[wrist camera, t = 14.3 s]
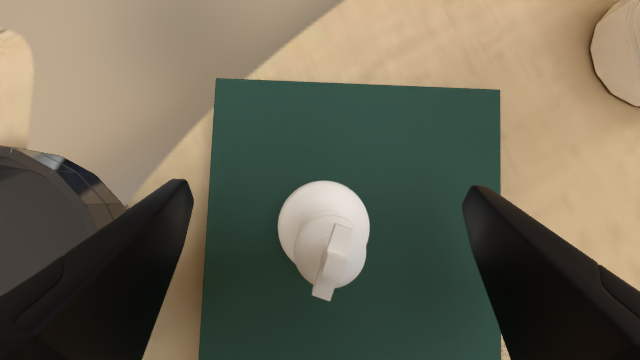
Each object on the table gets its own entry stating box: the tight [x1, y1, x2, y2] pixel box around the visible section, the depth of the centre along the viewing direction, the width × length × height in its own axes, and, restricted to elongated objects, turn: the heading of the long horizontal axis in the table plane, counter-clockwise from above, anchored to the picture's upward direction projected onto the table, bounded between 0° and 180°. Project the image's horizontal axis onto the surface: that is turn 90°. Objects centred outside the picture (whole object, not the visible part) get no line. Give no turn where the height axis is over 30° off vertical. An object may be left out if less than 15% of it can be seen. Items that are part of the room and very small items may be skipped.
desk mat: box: [199, 78, 501, 360], centre depth 16 cm, size 20×16×1 cm
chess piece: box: [278, 181, 370, 301], centre depth 11 cm, size 5×5×10 cm
